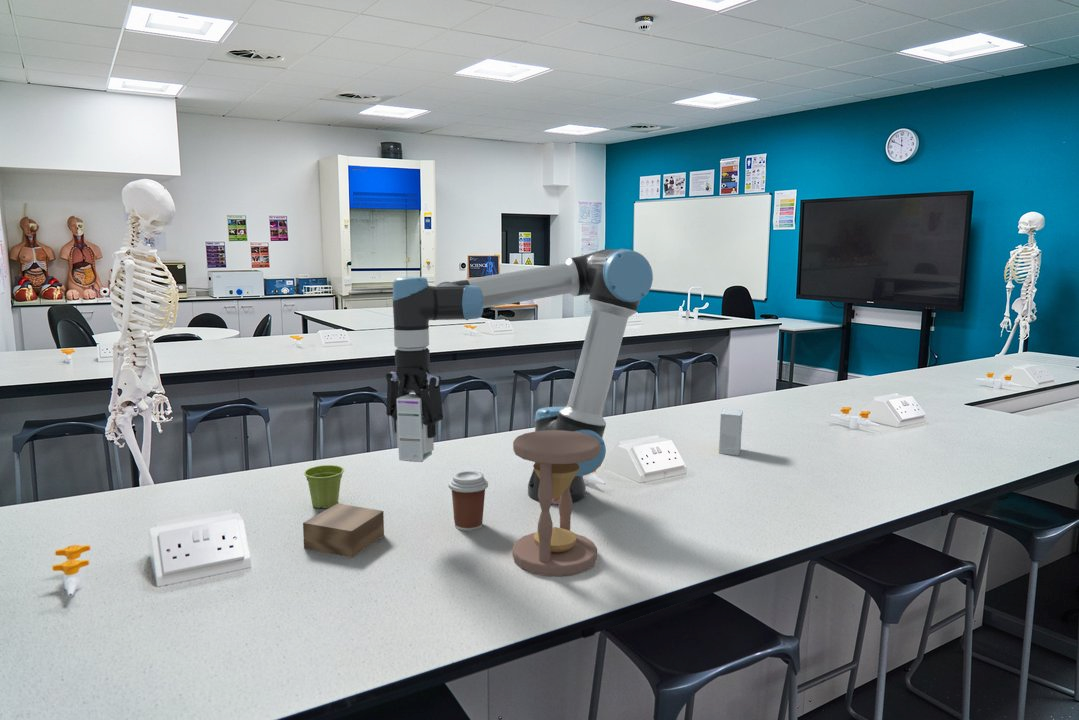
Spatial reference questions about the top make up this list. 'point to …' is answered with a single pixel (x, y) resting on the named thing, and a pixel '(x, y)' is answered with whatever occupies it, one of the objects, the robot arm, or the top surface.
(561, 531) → the hourglass
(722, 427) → the small box
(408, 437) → the syrup box
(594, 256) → the robot arm
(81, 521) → the top surface
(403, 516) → the top surface
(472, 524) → the coffee cup
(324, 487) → the plant pot
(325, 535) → the base block
